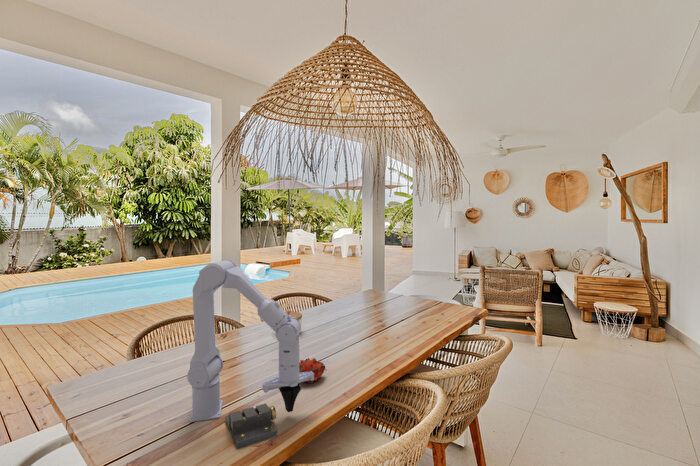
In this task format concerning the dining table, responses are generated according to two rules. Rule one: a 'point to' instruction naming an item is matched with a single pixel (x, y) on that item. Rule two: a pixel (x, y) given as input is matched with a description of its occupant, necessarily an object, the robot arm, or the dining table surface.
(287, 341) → the robot arm
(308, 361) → the dragon fruit
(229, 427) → the hinge leaves
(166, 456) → the dining table surface
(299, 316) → the lidded bowl
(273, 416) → the pin
